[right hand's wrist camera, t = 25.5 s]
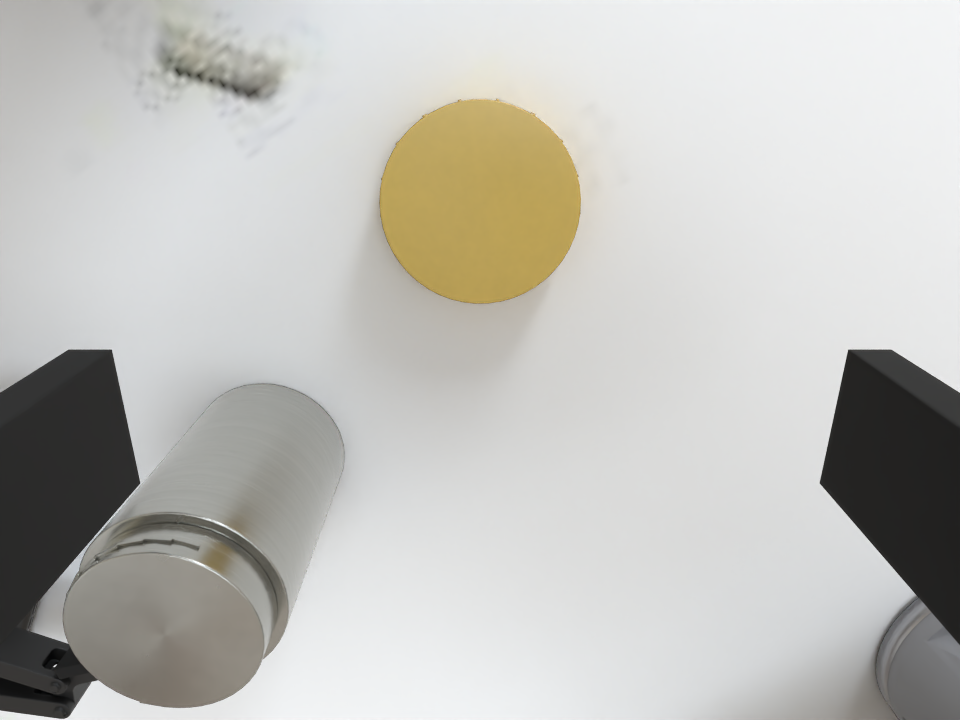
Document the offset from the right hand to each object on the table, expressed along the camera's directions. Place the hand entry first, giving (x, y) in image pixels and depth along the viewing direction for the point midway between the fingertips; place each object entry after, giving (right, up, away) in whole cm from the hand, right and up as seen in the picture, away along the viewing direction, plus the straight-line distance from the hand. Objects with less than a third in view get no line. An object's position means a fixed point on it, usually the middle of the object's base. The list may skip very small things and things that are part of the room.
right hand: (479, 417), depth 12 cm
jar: (-13, -5, +30) cm, 33 cm away
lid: (0, +9, +22) cm, 24 cm away
